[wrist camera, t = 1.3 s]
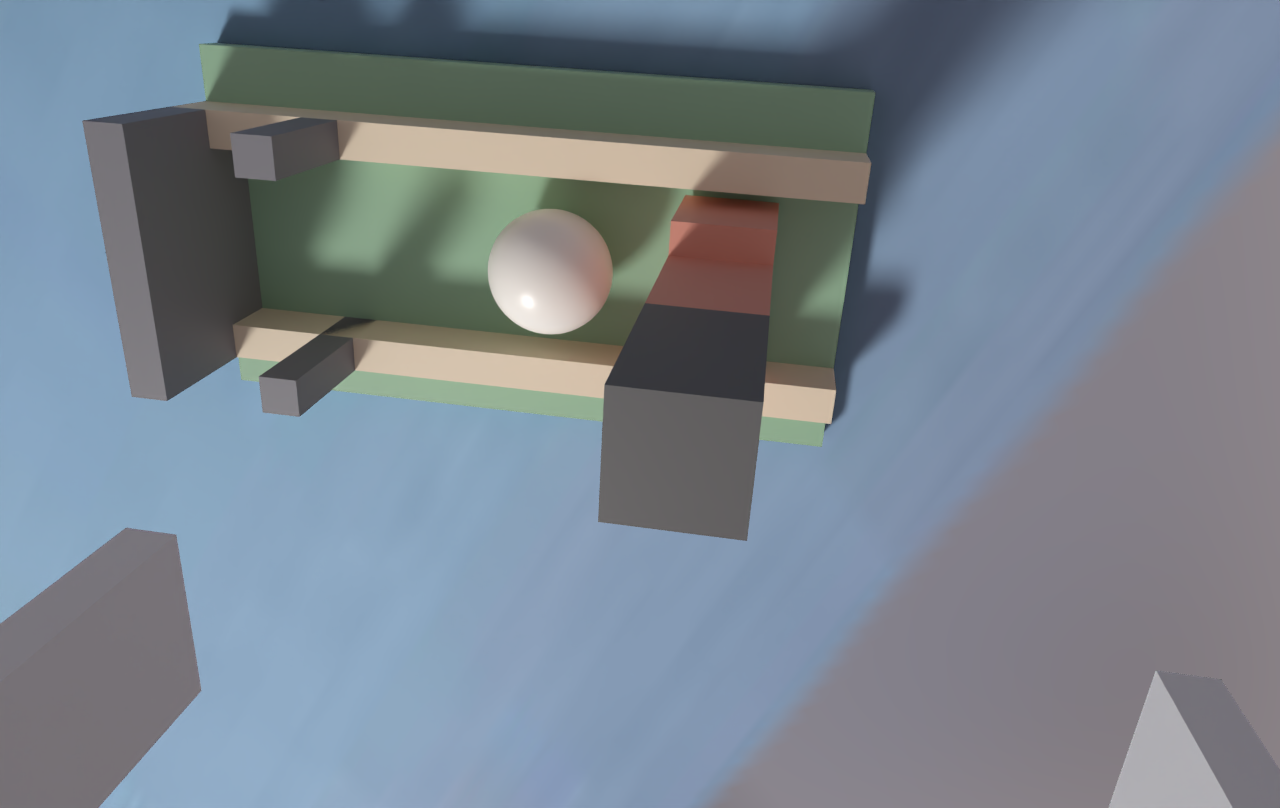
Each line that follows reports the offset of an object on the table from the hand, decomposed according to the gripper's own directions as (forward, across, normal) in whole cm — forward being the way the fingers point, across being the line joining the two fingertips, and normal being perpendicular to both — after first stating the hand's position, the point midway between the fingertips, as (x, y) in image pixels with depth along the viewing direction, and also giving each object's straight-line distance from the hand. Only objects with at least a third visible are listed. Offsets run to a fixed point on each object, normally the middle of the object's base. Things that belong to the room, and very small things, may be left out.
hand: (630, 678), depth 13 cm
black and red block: (+20, 0, 0) cm, 20 cm away
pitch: (+21, -7, 0) cm, 22 cm away
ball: (+18, -6, 0) cm, 19 cm away
